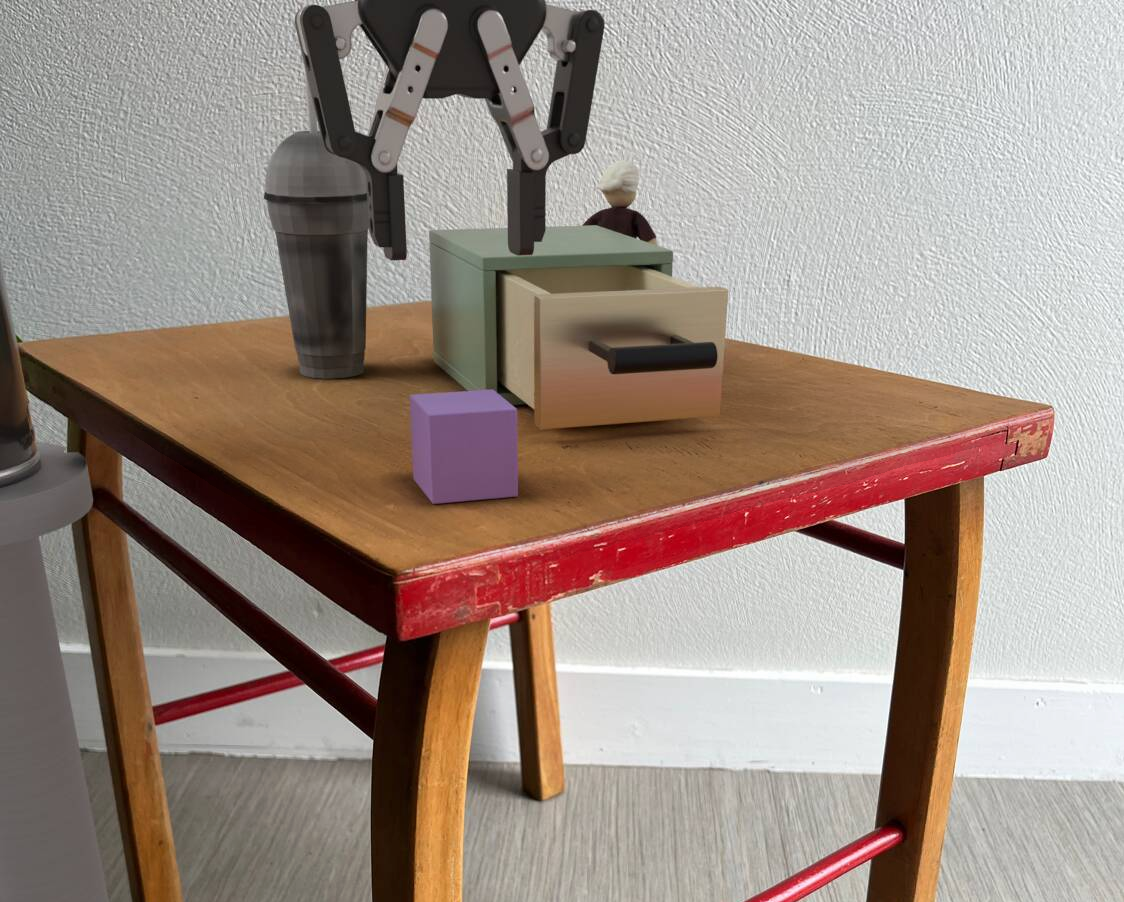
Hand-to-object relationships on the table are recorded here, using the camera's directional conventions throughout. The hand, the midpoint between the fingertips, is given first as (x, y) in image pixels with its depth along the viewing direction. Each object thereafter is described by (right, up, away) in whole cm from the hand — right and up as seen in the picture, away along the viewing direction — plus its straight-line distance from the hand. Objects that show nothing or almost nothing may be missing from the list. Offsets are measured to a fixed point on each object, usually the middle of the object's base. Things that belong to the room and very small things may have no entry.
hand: (458, 254), depth 62 cm
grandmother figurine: (+10, +12, +47) cm, 50 cm away
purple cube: (0, -10, +5) cm, 12 cm away
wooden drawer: (+8, -3, +18) cm, 20 cm away
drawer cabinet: (+4, +2, +29) cm, 29 cm away
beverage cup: (-11, +3, +30) cm, 32 cm away
